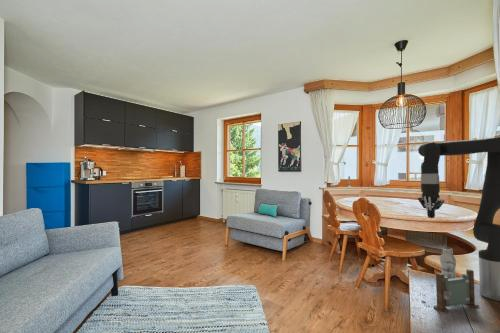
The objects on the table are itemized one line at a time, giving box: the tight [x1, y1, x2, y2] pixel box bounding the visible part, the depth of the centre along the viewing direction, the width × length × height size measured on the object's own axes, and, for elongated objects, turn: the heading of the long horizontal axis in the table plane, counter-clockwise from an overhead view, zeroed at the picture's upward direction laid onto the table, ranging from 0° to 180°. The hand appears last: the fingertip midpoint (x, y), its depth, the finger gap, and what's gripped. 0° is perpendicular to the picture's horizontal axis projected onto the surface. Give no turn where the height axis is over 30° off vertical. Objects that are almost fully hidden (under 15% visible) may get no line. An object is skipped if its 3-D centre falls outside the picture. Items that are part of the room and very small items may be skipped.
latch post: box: [433, 272, 451, 314], centre depth 105 cm, size 4×4×15 cm
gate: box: [444, 273, 470, 308], centre depth 106 cm, size 12×2×12 cm, turn 102°
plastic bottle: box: [439, 246, 457, 279], centre depth 123 cm, size 6×7×20 cm
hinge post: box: [464, 269, 480, 309], centre depth 108 cm, size 4×4×15 cm
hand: (431, 217), depth 124 cm, fingers closed
